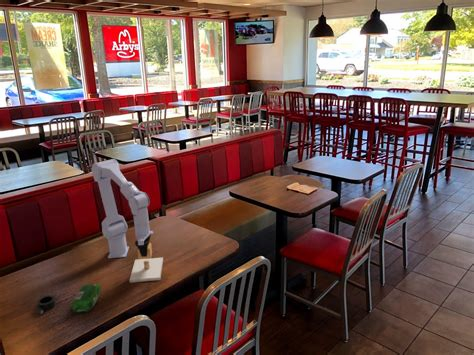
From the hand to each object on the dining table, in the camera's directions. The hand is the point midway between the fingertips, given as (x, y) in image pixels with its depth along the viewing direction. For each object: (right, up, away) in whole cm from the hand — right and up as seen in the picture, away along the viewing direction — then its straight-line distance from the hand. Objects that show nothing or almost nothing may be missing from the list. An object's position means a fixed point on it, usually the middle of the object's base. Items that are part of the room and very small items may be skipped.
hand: (145, 252), depth 158 cm
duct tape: (-31, -16, -18) cm, 40 cm away
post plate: (0, -8, +3) cm, 8 cm away
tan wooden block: (0, -1, 0) cm, 1 cm away
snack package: (-17, -16, -18) cm, 29 cm away
